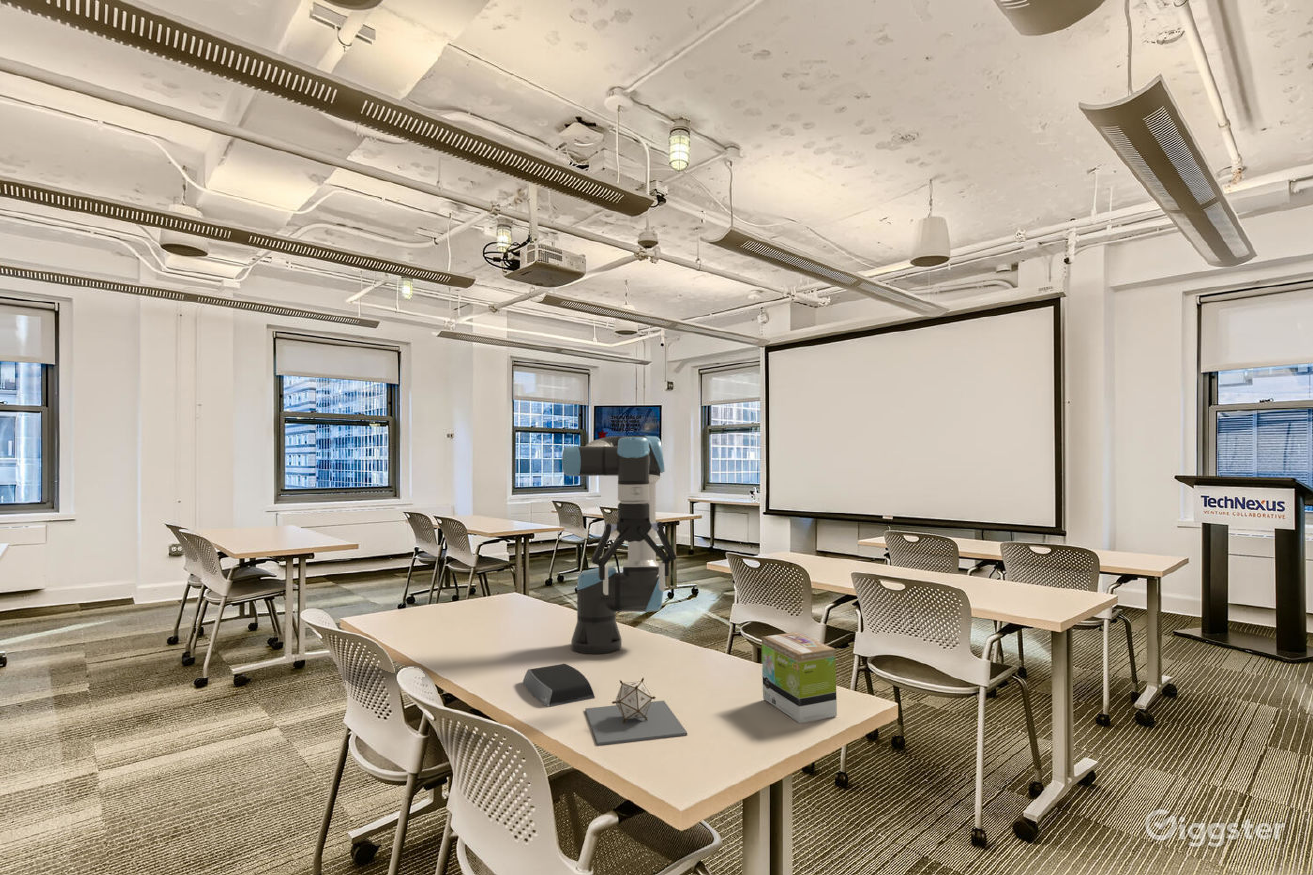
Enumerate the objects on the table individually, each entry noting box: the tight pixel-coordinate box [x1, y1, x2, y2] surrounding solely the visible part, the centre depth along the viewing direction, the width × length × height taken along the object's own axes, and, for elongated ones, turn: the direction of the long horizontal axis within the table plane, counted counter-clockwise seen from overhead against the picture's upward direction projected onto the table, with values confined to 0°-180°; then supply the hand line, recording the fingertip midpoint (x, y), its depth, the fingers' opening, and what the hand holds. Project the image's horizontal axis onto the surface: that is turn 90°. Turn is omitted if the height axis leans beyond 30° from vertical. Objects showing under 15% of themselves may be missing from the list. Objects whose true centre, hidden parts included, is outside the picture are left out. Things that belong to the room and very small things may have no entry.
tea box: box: [761, 631, 838, 724], centre depth 137 cm, size 15×10×15 cm, turn 22°
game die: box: [611, 677, 657, 723], centre depth 130 cm, size 9×8×10 cm
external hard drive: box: [522, 663, 596, 708], centre depth 149 cm, size 13×19×4 cm
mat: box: [584, 700, 688, 746], centre depth 129 cm, size 18×18×1 cm
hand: (634, 592), depth 145 cm, fingers open, 13 cm apart
